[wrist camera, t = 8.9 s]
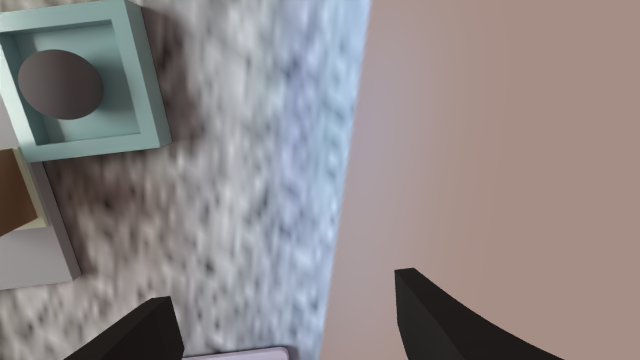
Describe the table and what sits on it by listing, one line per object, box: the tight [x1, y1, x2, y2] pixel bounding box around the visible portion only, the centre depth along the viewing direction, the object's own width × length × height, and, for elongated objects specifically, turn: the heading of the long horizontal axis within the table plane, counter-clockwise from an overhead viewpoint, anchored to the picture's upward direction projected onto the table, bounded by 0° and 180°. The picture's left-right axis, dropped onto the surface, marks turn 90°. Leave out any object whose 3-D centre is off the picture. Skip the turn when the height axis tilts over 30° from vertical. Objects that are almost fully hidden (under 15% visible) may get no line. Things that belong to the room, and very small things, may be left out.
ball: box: [18, 49, 104, 120], centre depth 16 cm, size 3×3×3 cm
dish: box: [0, 0, 172, 163], centre depth 17 cm, size 7×7×2 cm
